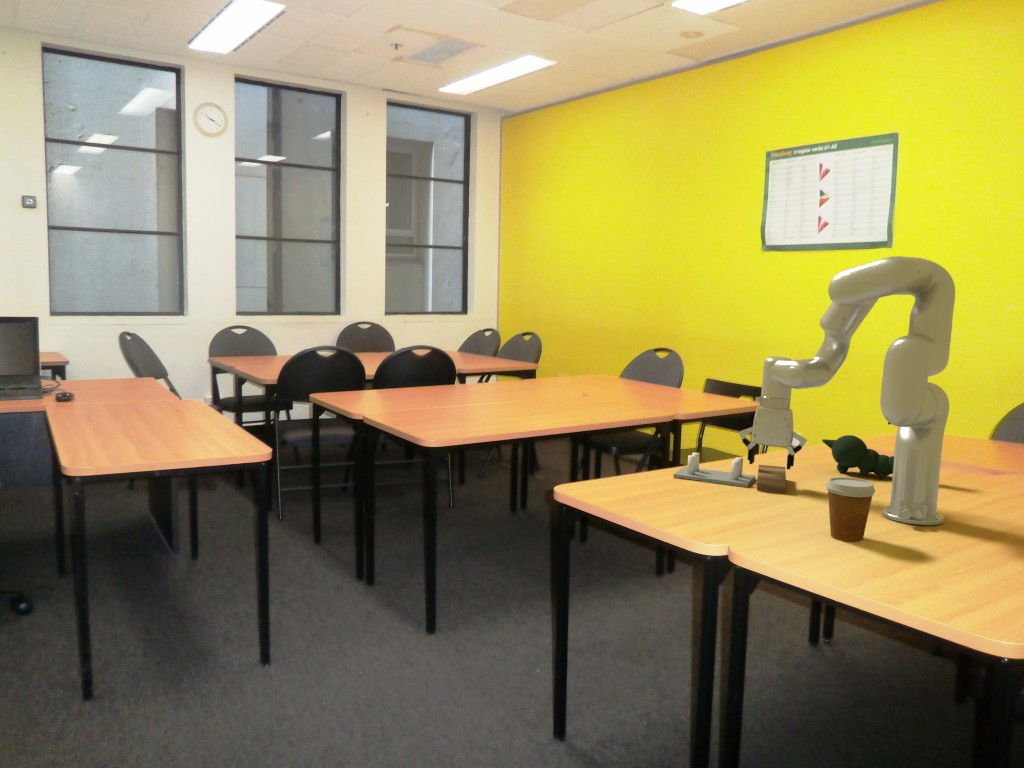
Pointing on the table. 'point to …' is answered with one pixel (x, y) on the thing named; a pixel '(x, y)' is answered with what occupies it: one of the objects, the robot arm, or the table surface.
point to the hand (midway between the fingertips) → (770, 465)
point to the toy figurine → (859, 456)
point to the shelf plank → (771, 479)
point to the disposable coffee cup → (849, 507)
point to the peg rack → (715, 473)
